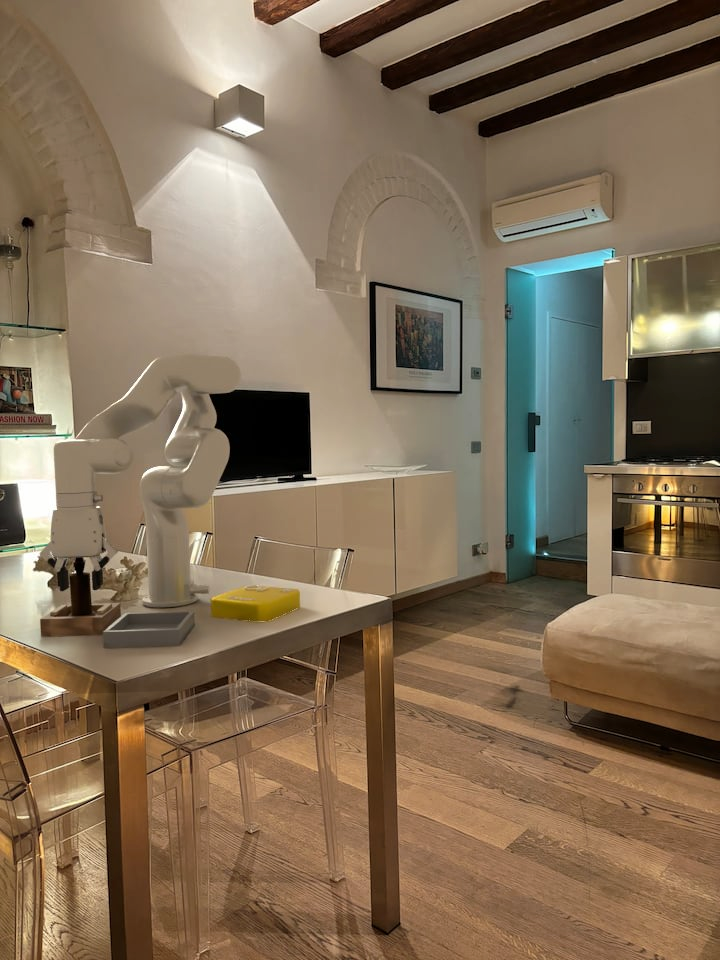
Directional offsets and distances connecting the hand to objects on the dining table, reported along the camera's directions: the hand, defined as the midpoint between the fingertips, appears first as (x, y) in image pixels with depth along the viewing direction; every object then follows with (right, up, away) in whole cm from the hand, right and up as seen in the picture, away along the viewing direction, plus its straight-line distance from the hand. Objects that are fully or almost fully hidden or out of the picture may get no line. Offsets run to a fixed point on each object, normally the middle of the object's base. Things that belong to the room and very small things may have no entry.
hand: (80, 588), depth 149 cm
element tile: (+34, -7, +11) cm, 37 cm away
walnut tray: (0, -8, +1) cm, 8 cm away
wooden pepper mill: (0, -8, +1) cm, 8 cm away
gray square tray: (+16, -8, -7) cm, 20 cm away
